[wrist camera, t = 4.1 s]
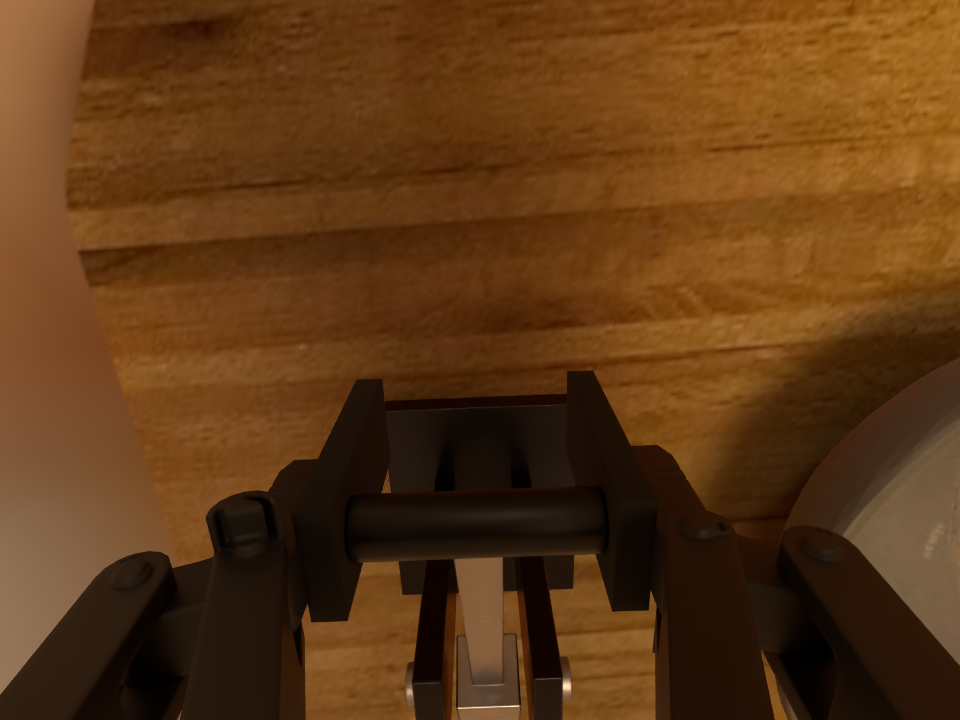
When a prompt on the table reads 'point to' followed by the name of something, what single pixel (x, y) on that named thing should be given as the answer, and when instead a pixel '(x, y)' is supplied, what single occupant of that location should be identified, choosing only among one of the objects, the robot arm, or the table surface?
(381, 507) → the lever
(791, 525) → the bowl
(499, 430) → the bracket
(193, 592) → the robot arm
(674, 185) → the table surface
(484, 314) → the table surface
